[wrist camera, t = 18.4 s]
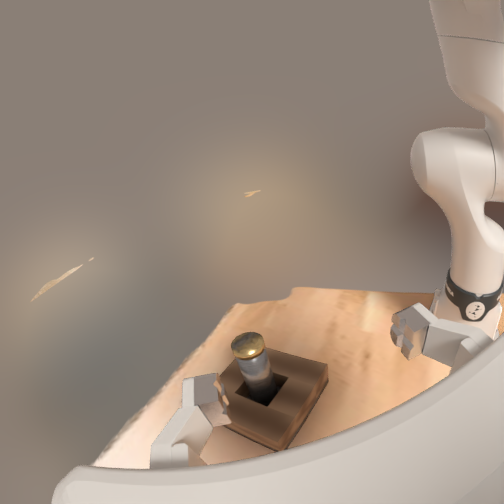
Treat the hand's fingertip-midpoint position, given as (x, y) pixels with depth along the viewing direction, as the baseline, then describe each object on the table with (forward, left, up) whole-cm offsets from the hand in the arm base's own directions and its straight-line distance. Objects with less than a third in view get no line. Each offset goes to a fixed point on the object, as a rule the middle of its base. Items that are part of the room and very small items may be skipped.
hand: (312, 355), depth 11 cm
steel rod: (-12, -17, -31) cm, 38 cm away
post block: (-12, -17, -32) cm, 38 cm away
